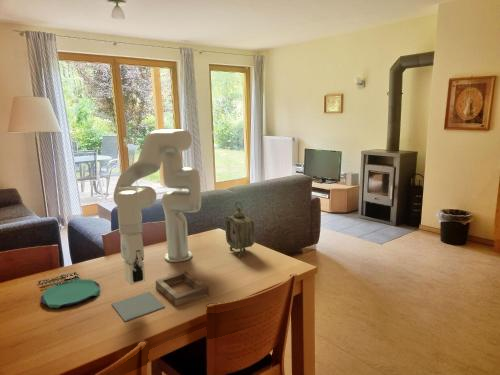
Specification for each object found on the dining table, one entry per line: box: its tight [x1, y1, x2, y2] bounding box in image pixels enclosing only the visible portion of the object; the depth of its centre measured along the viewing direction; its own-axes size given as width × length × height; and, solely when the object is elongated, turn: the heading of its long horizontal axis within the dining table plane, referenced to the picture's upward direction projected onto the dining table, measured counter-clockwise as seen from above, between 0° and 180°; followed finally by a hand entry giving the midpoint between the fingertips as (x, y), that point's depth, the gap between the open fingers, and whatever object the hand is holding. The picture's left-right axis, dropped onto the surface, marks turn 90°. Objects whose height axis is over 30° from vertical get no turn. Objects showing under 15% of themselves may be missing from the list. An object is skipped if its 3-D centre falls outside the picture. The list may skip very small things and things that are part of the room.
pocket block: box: [155, 270, 210, 307], centre depth 136 cm, size 18×13×3 cm
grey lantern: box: [224, 201, 256, 258], centre depth 170 cm, size 14×9×25 cm, turn 27°
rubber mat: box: [111, 291, 166, 323], centre depth 126 cm, size 14×14×1 cm
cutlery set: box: [37, 271, 101, 309], centre depth 138 cm, size 20×30×2 cm, turn 39°
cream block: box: [123, 260, 146, 286], centre depth 123 cm, size 5×5×7 cm
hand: (135, 277), depth 123 cm, fingers closed on cream block, 5 cm apart
